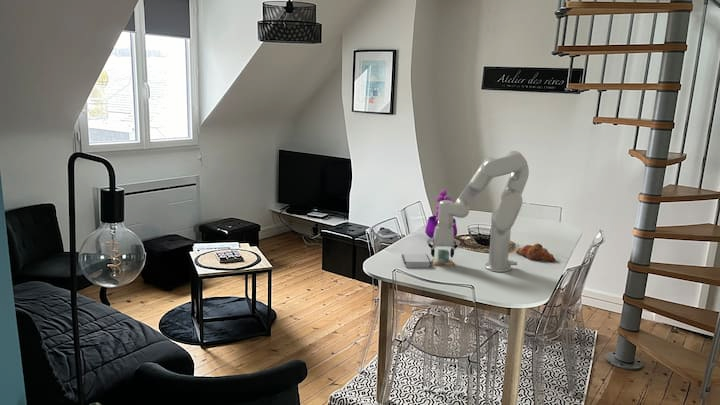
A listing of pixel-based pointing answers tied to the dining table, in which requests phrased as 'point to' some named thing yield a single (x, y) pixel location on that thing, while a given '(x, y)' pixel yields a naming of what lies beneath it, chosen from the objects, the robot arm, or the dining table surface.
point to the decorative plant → (434, 219)
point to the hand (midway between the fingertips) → (442, 256)
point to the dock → (416, 260)
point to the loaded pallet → (443, 258)
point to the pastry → (535, 253)
